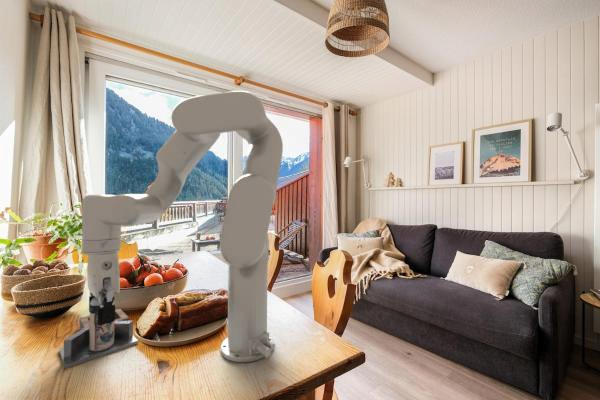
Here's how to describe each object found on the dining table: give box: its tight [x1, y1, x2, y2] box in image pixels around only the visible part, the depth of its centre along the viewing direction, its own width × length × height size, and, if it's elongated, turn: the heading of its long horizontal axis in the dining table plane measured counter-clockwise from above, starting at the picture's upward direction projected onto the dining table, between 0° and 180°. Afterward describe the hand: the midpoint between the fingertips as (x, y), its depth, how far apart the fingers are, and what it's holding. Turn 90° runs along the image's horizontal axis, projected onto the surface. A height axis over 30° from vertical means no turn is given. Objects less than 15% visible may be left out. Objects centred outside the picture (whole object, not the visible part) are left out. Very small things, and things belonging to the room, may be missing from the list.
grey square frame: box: [78, 308, 130, 331], centre depth 75 cm, size 10×10×3 cm
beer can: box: [89, 297, 114, 351], centre depth 64 cm, size 5×5×12 cm
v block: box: [58, 320, 139, 370], centre depth 66 cm, size 10×14×5 cm
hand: (101, 316), depth 65 cm, fingers open, 9 cm apart
